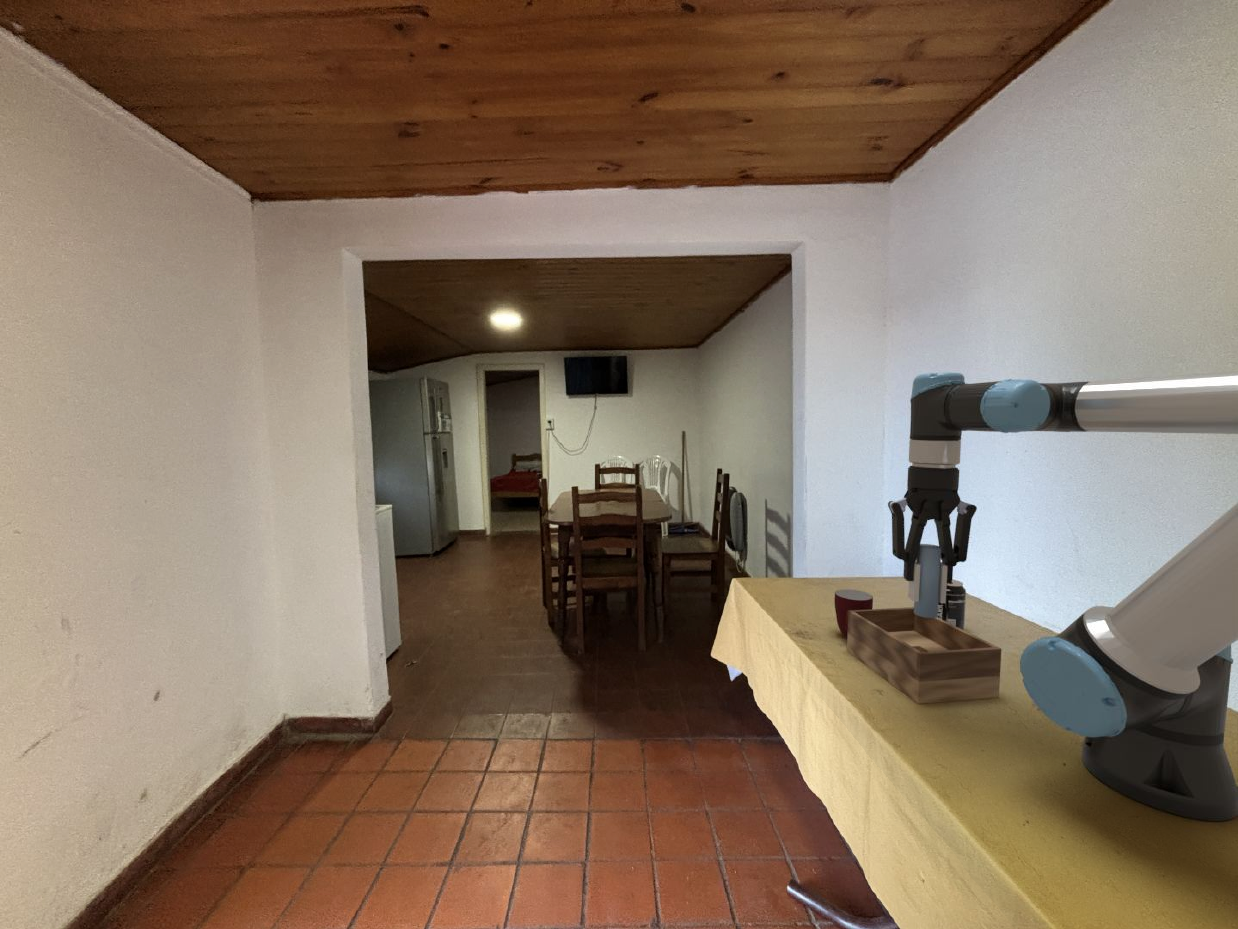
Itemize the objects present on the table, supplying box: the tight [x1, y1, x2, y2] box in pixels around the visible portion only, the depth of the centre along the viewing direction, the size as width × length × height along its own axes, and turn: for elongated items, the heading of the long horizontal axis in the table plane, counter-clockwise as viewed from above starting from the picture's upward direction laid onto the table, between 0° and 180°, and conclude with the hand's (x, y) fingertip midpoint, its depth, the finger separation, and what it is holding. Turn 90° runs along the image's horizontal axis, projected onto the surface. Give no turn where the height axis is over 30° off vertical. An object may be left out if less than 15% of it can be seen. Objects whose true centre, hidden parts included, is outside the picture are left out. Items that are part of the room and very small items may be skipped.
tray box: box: [846, 606, 1002, 705], centre depth 104 cm, size 22×16×9 cm
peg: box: [913, 543, 942, 618], centre depth 91 cm, size 4×4×12 cm
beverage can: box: [937, 578, 967, 631], centre depth 125 cm, size 7×7×12 cm
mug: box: [833, 588, 874, 639], centre depth 121 cm, size 11×8×10 cm
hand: (926, 599), depth 91 cm, fingers closed on peg, 3 cm apart
